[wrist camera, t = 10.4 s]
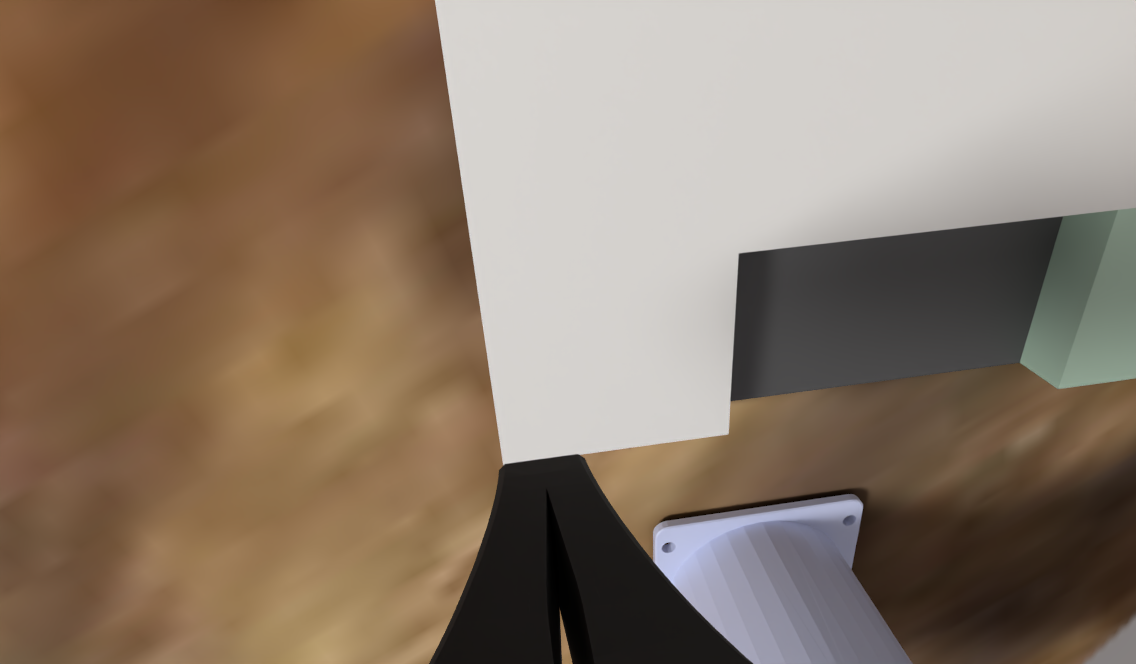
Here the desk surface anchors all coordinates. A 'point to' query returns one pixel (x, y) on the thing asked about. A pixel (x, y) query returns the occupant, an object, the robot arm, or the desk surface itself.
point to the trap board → (787, 201)
